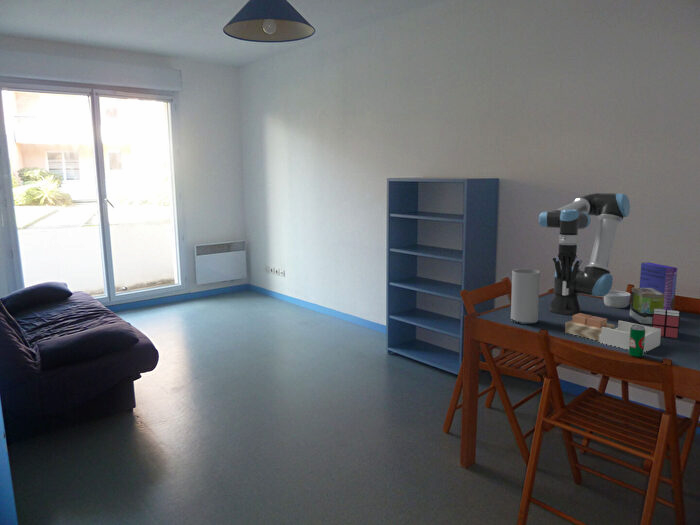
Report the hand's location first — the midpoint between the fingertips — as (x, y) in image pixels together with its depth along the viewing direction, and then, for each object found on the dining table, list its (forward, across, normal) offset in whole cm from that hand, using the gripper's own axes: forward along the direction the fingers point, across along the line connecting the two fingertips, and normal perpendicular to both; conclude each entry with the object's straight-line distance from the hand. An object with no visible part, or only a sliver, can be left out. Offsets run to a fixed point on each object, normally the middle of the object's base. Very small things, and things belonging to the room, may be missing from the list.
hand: (565, 294), depth 231 cm
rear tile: (+11, +8, 0) cm, 14 cm away
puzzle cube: (+16, +33, +26) cm, 45 cm away
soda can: (+17, +37, -12) cm, 42 cm away
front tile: (+11, +15, 0) cm, 19 cm away
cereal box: (+16, +14, +64) cm, 67 cm away
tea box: (+16, +18, +42) cm, 49 cm away
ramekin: (+16, -4, +60) cm, 62 cm away
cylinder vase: (+16, -19, -2) cm, 25 cm away
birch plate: (+16, +12, 0) cm, 20 cm away
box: (+16, +29, 0) cm, 33 cm away
